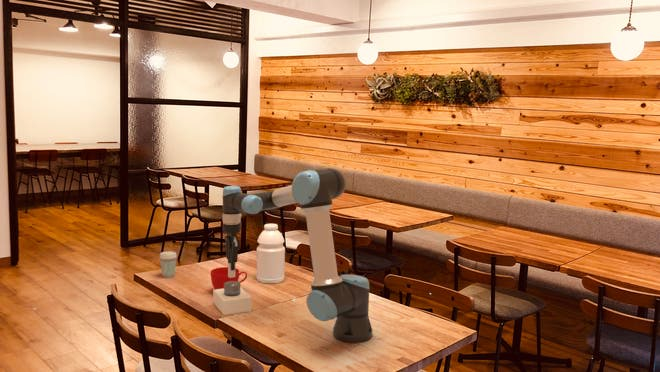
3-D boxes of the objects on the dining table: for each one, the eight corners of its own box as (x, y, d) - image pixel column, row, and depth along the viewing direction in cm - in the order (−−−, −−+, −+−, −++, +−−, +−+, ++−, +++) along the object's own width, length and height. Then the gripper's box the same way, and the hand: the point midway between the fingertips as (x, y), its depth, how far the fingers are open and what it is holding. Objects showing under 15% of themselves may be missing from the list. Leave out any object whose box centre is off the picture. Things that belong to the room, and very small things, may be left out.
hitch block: (251, 311, 244) (251, 297, 243) (223, 315, 239) (223, 301, 238) (239, 299, 258) (239, 286, 257) (213, 303, 253) (213, 289, 252)
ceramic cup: (250, 293, 266) (250, 272, 265) (213, 297, 260) (213, 276, 258) (243, 285, 278) (243, 265, 277) (208, 288, 272) (208, 268, 270)
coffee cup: (159, 274, 292) (159, 251, 291) (176, 273, 295) (176, 250, 293) (159, 279, 284) (159, 255, 282) (177, 278, 287) (177, 254, 285)
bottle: (259, 275, 295) (259, 221, 291) (286, 276, 294) (286, 222, 290) (254, 283, 281) (254, 227, 277) (282, 284, 280) (283, 228, 276)
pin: (242, 307, 247) (242, 284, 245) (226, 309, 244) (226, 286, 242) (237, 302, 253) (237, 280, 252) (221, 304, 250) (221, 282, 248)
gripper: (245, 225, 239) (245, 280, 243) (235, 219, 251) (235, 271, 254) (227, 226, 236) (227, 282, 239) (218, 220, 247) (218, 273, 251)
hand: (231, 276), depth 247 cm, fingers closed
